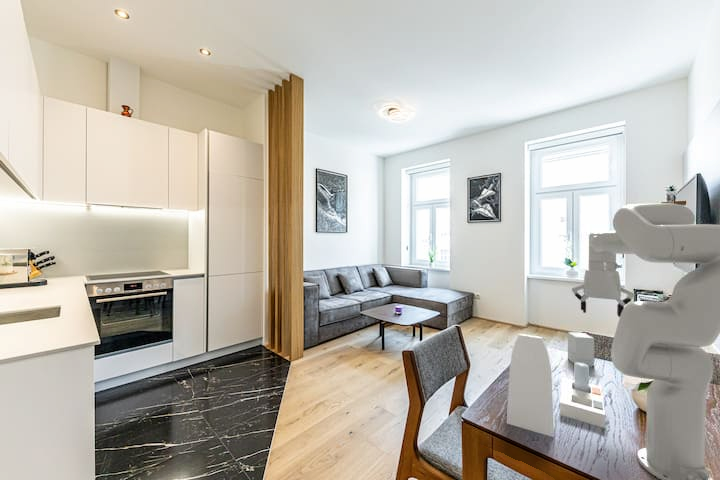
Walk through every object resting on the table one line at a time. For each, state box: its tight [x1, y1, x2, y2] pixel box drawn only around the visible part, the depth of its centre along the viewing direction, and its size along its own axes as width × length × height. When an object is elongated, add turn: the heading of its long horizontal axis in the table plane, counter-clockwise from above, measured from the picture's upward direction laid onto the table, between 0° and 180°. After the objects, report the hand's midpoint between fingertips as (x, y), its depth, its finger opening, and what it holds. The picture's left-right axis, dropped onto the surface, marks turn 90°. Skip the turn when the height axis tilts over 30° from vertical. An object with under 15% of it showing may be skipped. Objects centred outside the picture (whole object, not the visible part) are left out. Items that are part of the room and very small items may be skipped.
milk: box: [506, 333, 555, 438], centre depth 90 cm, size 12×12×26 cm
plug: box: [573, 362, 590, 393], centre depth 101 cm, size 4×4×12 cm
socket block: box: [559, 377, 606, 429], centre depth 97 cm, size 20×11×4 cm, turn 143°
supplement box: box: [567, 331, 595, 367], centre depth 129 cm, size 7×7×13 cm
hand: (601, 314), depth 104 cm, fingers open, 9 cm apart
